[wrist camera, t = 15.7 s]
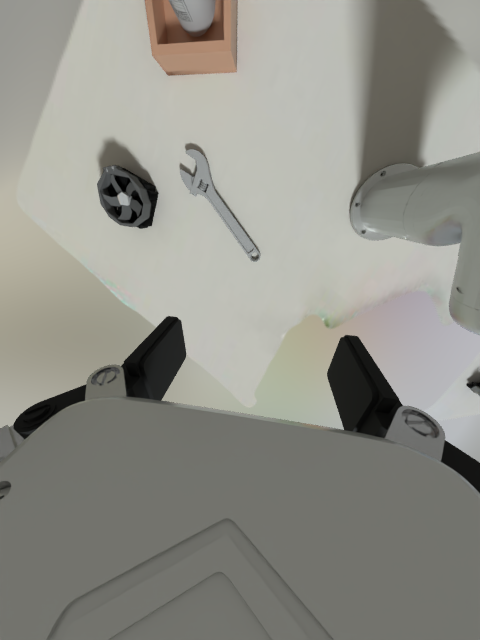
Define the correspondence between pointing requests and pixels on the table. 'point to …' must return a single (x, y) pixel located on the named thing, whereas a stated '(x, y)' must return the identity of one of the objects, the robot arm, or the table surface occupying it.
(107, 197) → the cpu cooler
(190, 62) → the bin
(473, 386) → the scope
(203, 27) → the energy drink can
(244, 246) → the adjustable wrench
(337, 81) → the table surface
